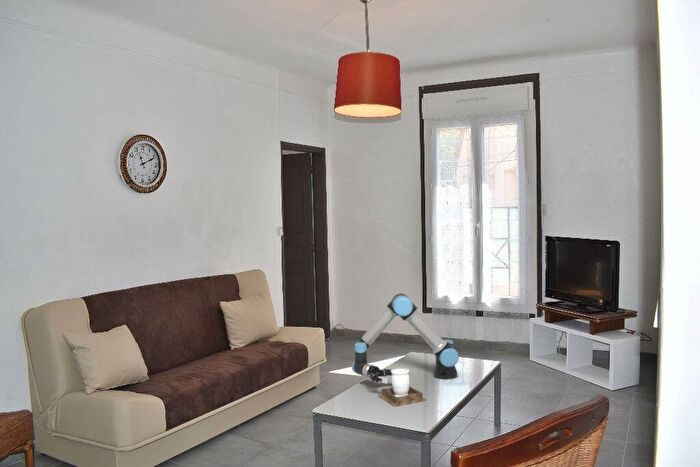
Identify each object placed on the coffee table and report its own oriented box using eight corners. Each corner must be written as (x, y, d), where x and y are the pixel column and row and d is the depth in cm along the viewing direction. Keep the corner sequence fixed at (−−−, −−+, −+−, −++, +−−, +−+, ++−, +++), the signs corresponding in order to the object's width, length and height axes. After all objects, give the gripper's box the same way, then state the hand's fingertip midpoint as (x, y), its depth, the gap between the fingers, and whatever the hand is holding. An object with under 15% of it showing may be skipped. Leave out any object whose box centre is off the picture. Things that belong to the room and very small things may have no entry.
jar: (407, 400, 305) (406, 373, 304) (389, 398, 309) (388, 372, 308) (412, 393, 315) (411, 368, 314) (395, 392, 318) (394, 367, 318)
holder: (408, 390, 324) (408, 383, 324) (426, 400, 306) (425, 393, 306) (378, 396, 317) (378, 389, 317) (394, 406, 298) (393, 399, 298)
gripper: (387, 373, 339) (411, 380, 322) (355, 382, 324) (379, 389, 307) (386, 361, 339) (410, 367, 322) (355, 369, 324) (378, 376, 307)
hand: (395, 378), depth 315 cm, fingers open, 13 cm apart
